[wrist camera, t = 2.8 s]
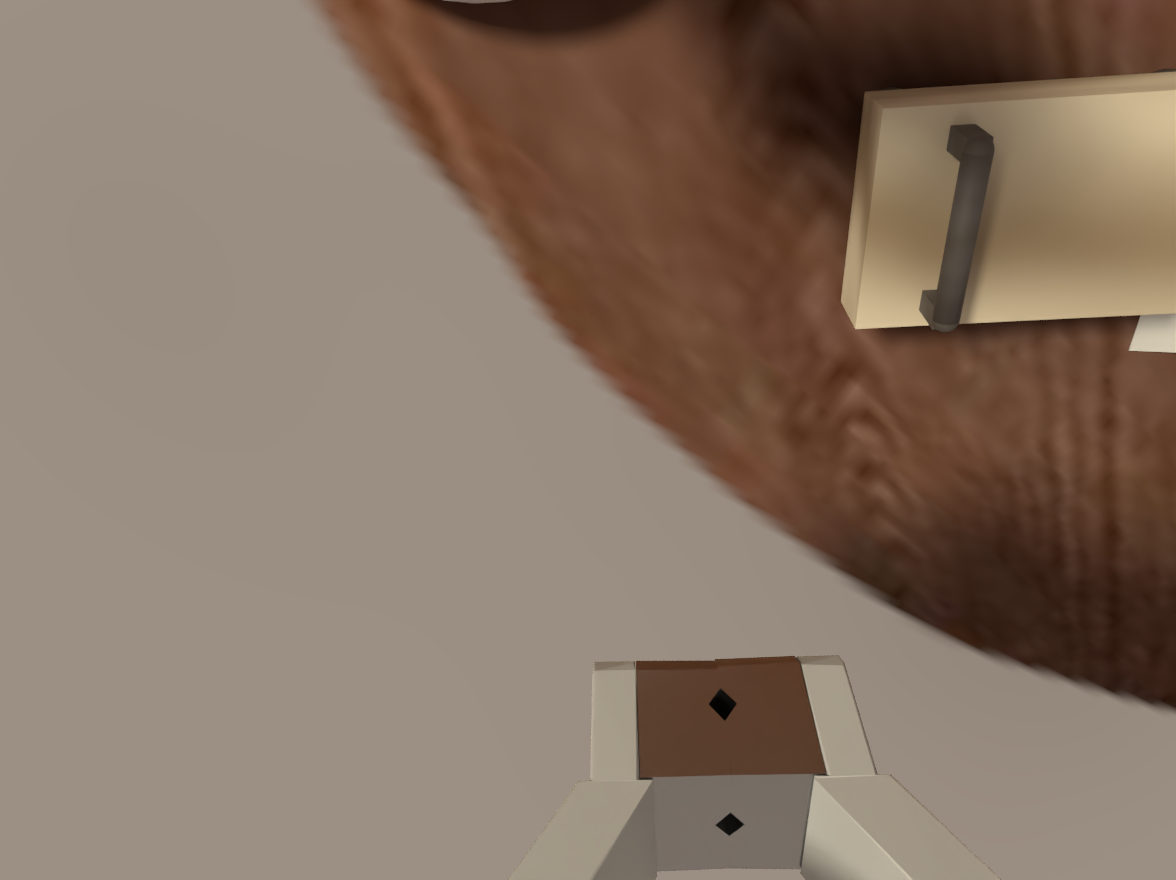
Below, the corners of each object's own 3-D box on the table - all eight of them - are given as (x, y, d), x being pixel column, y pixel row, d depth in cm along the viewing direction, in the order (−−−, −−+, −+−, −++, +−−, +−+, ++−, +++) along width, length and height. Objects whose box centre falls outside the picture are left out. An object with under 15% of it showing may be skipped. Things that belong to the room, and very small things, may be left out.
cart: (851, 80, 23) (901, 125, 19) (1191, 57, 23) (1312, 99, 19) (830, 282, 27) (868, 355, 23) (1125, 266, 26) (1216, 339, 22)
